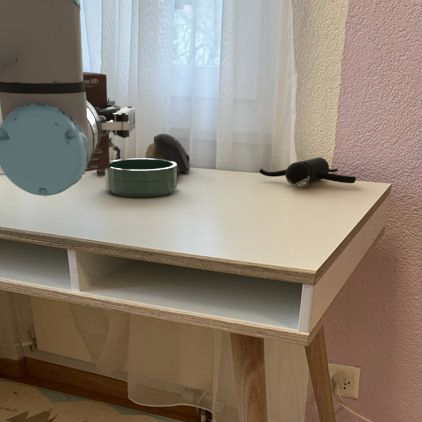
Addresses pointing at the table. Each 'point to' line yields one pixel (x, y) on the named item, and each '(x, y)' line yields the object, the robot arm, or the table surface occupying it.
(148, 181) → the bowl
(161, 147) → the computer mouse
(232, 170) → the table surface
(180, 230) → the table surface
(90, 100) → the box
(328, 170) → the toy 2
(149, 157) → the stone
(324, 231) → the table surface
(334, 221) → the table surface
